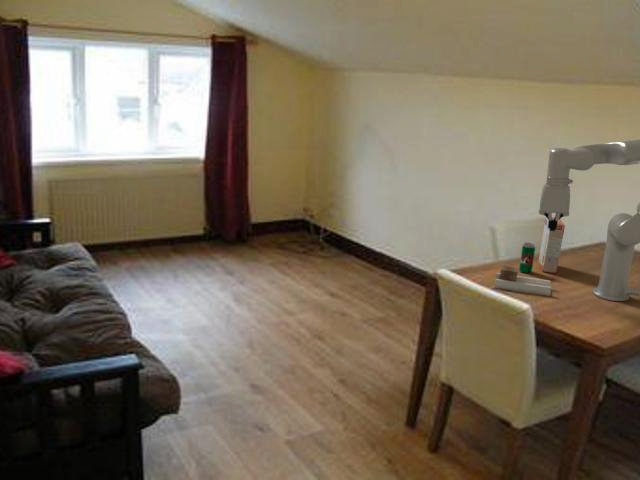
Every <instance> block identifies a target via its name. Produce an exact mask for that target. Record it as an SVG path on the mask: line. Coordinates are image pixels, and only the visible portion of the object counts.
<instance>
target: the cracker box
mask: <svg viewBox="0 0 640 480" xmlns="http://www.w3.org/2000/svg"><path fill="white" fill-rule="evenodd" d="M554 218H555V216H554V217H553V216H552V219H553V220H554ZM548 222H549V220H548V218H547V217H546V216H545V220H544V225H543V233H542V238H541V244H540V249H539V250H540V251H539V256H538V261H537V262H538V264H539V266H540V269H541V271H542V272H543V273H544V272H545V273H550V274H557V271H558V267H559V266H558V265H559V262H560V256H561V251H562V244H563V238H564V234H565V228H566V225H565V223H564V222H562V220H561V219H559V220H558V221H557V229H555V231H550V228H548Z"/></svg>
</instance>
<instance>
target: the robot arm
mask: <svg viewBox="0 0 640 480" xmlns="http://www.w3.org/2000/svg"><path fill="white" fill-rule="evenodd" d="M548 155H549V156H548V165H547V173H546V181H545V182H546V183H545V184H543V187H542V190H541V196H540V200H539V201H540V203H539V210H538V214H539V215H542V216H544V217H545V218H546V217H547V218H548V220H549V222H548V228H550V231H555V229H557V221H558V220H559V219H560V220H561V219H562V218H563V217H569V216H570V205H571V187H570V184H573V182H574V181H573V179H571V178H570V171H571V170H576V171H588V170H590V169H592V168H593V167H594V165H602V164H603V165H605V164H607V165H608V164H610V165H611V164H612V165H616V166H632V165H638V164H640V139H633V140H625V141H615V142H605V143H603V142H602V143H596V144H588V145H580V146H576V147H574V148H573V149H570V148H566V147H564V148H563V147H554V148H551V149H550V151H549V154H548ZM553 214H555V216H554V217H555V218H554V220H553V219H552V217H553ZM639 244H640V202H638V204H637V207H636V213H635V214H634V215H632V214H630V213H627V212H621V213H617V214H615V215H613V216H612V218H610V220H609V223H608V225H607V233H606V243H605V249H604V255H603V260H602V265H601V270H600V275H599V280H598V286H596V287H594V288H593V289H592V294H593V295H595V296H596V297H599V298H600V299H603V300H608V301H613V302H614V301H615V302H626V301H628V300H629V299H630V295H632V296H638V297H639V296H640V290H637V289H636V288H630V287H629V286H628V282H629V281H628V280H629V277H630V273H631V267H632V261H633V257H634V252H635V246H636V245H639Z"/></svg>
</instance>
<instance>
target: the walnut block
mask: <svg viewBox="0 0 640 480" xmlns="http://www.w3.org/2000/svg"><path fill="white" fill-rule="evenodd" d="M518 271H519V267H515V266H507V265H501V268H500V273H501V274H500V279H501V280H507V281H514V282H516V279H517V276H518Z"/></svg>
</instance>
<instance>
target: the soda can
mask: <svg viewBox="0 0 640 480" xmlns="http://www.w3.org/2000/svg"><path fill="white" fill-rule="evenodd" d="M521 246H522V247H521V255H520V259H519V260H520V262H519V267H518V271H519V272H520V273H523V274H531V273H532V271H533V266H534V258H535V252H536V245H535V243H533V242H523V245H521Z"/></svg>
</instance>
